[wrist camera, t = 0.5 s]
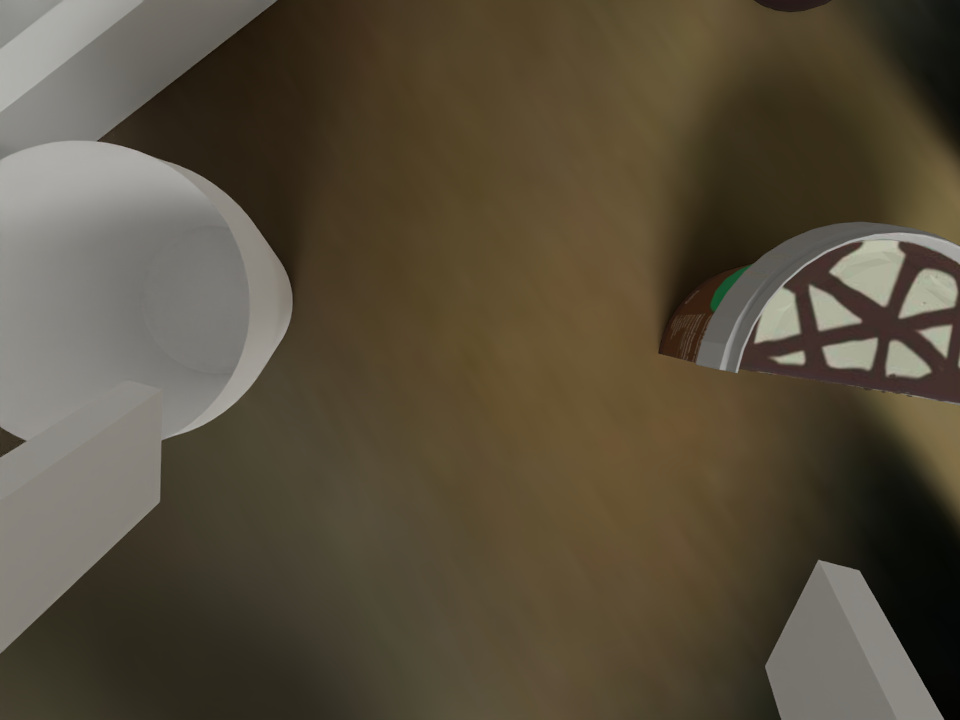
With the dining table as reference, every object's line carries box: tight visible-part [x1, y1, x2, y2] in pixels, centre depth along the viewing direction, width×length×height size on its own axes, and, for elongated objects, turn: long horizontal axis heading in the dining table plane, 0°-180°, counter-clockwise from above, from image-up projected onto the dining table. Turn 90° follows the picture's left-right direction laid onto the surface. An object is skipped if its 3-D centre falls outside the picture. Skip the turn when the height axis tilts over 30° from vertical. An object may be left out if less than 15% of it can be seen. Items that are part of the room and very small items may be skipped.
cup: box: [0, 141, 293, 441], centre depth 25 cm, size 9×9×12 cm
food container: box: [659, 222, 960, 405], centre depth 28 cm, size 12×6×10 cm, turn 81°
